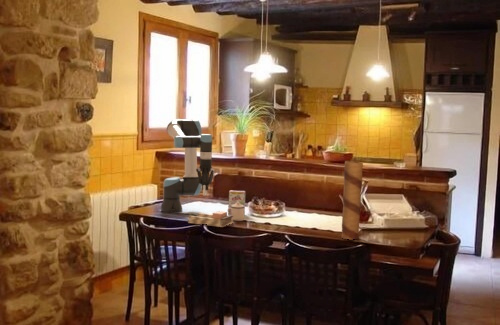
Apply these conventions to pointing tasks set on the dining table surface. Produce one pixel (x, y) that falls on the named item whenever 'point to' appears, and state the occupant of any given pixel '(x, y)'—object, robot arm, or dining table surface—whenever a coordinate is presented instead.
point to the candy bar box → (236, 198)
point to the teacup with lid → (237, 211)
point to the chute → (211, 220)
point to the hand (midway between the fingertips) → (205, 195)
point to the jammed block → (219, 215)
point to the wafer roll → (351, 199)
